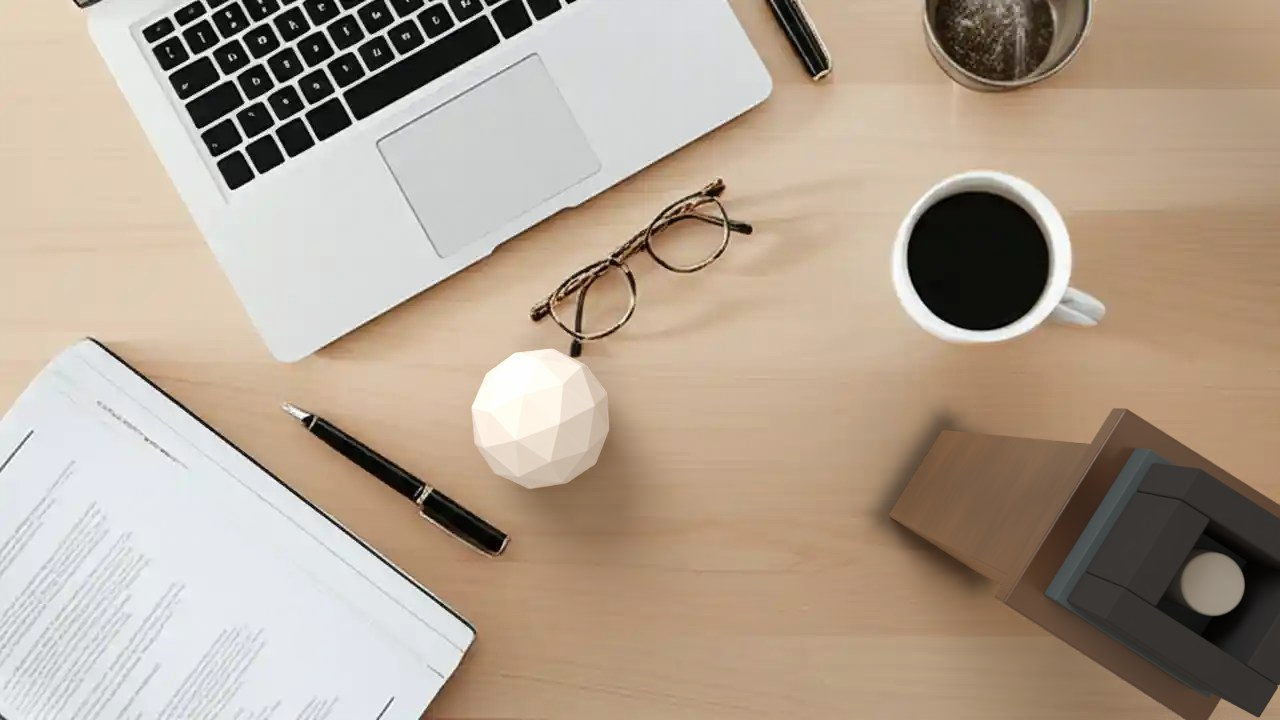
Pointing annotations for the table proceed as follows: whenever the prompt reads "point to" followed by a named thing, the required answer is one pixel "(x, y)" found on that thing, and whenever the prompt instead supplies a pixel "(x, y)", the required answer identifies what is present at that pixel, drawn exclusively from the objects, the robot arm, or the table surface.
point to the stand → (1046, 525)
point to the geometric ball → (540, 418)
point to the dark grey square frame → (1149, 560)
